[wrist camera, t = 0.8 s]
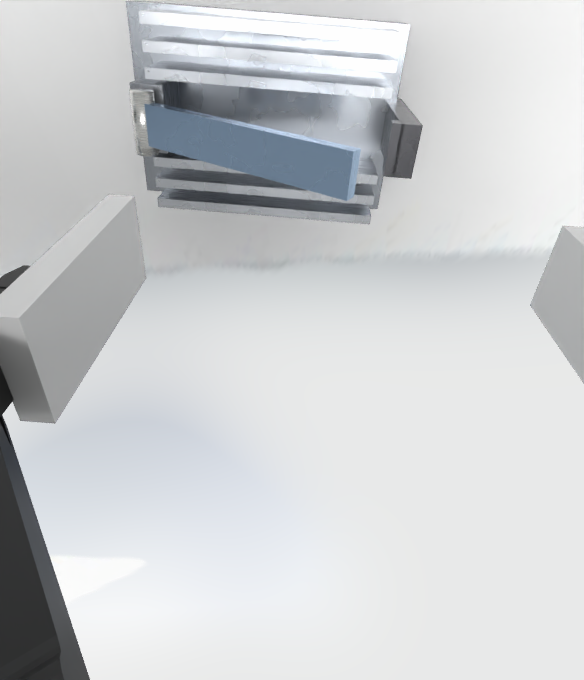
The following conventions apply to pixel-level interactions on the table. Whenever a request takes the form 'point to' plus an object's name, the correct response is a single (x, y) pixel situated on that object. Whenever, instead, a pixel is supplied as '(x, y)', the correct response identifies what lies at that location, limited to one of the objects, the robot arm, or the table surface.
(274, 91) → the heatsink
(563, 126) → the table surface
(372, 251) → the table surface
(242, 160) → the blue long flat bar
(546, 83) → the table surface
